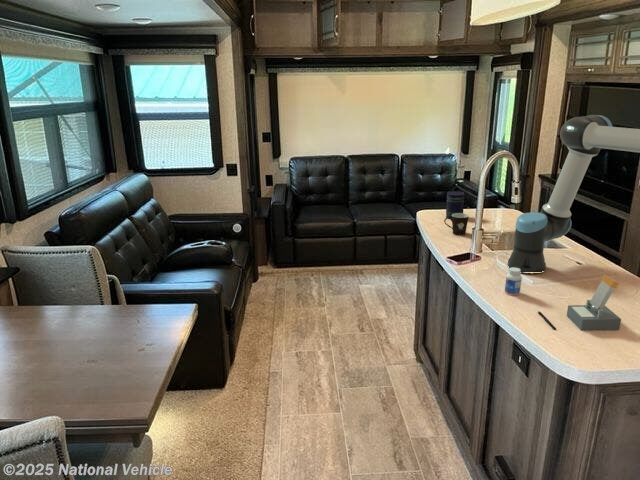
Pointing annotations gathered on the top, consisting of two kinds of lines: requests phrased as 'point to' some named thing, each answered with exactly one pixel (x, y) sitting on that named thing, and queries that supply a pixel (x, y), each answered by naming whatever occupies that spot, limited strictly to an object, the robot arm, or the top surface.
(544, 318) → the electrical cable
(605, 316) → the switch box
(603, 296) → the lever
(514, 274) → the pill bottle
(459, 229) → the coffee mug
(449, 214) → the storage jar
